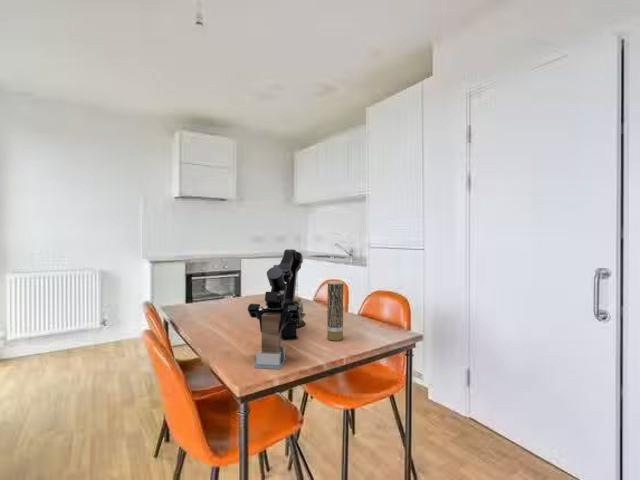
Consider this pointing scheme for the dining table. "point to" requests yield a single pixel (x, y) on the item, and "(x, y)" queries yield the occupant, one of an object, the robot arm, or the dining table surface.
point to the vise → (270, 359)
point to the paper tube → (335, 311)
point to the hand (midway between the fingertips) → (270, 332)
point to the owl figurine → (298, 302)
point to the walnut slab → (271, 332)
